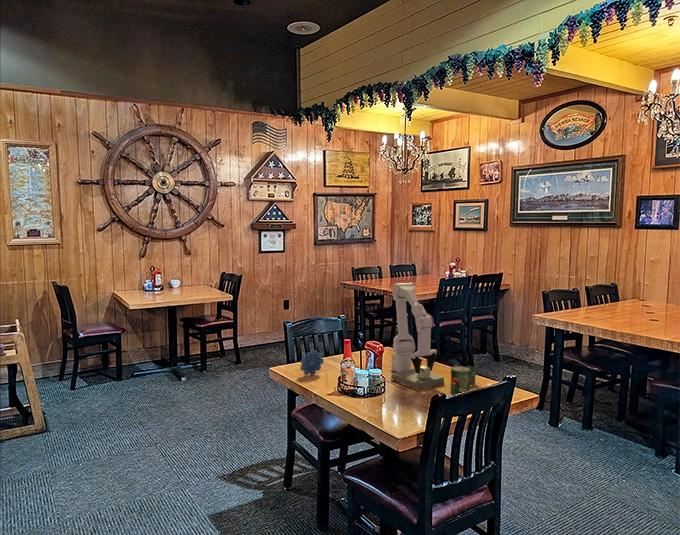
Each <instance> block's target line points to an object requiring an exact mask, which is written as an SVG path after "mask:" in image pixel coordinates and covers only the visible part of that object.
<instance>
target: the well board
mask: <svg viewBox="0 0 680 535" xmlns="http://www.w3.org/2000/svg"><path fill="white" fill-rule="evenodd" d="M391 379H393V380H395V381H398V382H400V383H399V384H401V383H403V384H405V385H404V386H406V385H407V386H406V387H408V386H410V387H409V388H411V387H412V388H411V389H413V388H415V389H414V390H416V389H417V391H421V390H420V389H422V390H425V389H424V388H426V389H428V388H427V387H430V388H432V387H431V386H434V387H437V386H441V385H444V384H445V377H444V376H441V375H438V374H435V373H432V372H430V379H427V380H421V379H418V373H415V368H411V370H406V371H402V372H394V373H391ZM391 379H390V380H391ZM393 380H392V381H393ZM395 381H394V382H395ZM398 382H397V383H398ZM403 384H402V385H403ZM436 385H437V386H436Z"/></svg>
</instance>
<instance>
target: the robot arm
mask: <svg viewBox="0 0 680 535" xmlns="http://www.w3.org/2000/svg"><path fill="white" fill-rule="evenodd" d="M391 291H392V293H391V294H392V300H393V301H395V308H396V321H397V333H398V334H396V335H395V337H394V338H393V344H392V350H393V352H394V353H393V354H392V357H391V368H390V370H391V371H392V370H393V372H395V371H396V372H395V373H397V372H402V371H406V370H411V369H412V366H413V369H415V373H418V374H419V373H420V366H422V362H423V359H421V358H422V357H425V359H426V366H427V367H430V372H431V371H433V367H434V364H435V362H436V360H437V358H438V355H437V354H438V353H437V352H438V351H437V349H431V345H432V344H431V343H432V342H431V340H432V338H431V336H432V332H431V331H432V328H433V327H434V318H433V316H432V315H431V314H429V313H427V311H426V310H425V308H424V305H423V304H421V303H419V300H418V299H417V295H416V287H415V284H414V283H413V282H399V283H397V282H395V283H394V284H393V285H392V290H391ZM407 302H408V303H409V305H410V307H411V313H412V315H413V316H414V319H415V326H416V327H415V328H416V332H417V351H415V350H416V345H415V344H416V343H415V341H414V337H413V336H412V335H411V334H409V325H408V324H409V323H408V313H407V312H408V311H407Z"/></svg>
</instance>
